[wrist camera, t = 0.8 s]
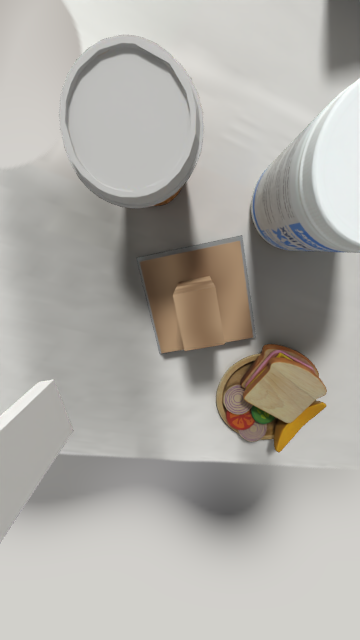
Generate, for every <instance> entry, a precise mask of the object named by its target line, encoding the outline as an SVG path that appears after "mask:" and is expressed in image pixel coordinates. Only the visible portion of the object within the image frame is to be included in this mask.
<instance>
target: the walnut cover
mask: <svg viewBox="0 0 360 640" xmlns="http://www.w3.org/2000/svg"><path fill="white" fill-rule="evenodd" d="M140 266H141V270H142V274H143V278H144V282H145V287H146V291H147V295H148V299H149V303H150V307H151V312H152V316H153V320H154V324H155V328H156V332H157V337H158V341H159V345H160V349H161V353H166V352H172V351H178V350H185V351H188V350H194V349H200V348H206V347H212V346H218V345H224V344H225V342H231V341H237V340H242V339H248V338H253V331H252V324H251V317H250V310H249V302H248V295H247V288H246V281H245V273H244V266H243V259H242V251H241V244H240V241H236V242H231V243H226V244H221V245H217V246H212V247H207V248H202V249H198V250H193V251H188V252H183V253H179V254H174V255H169V256H164V257H160V258H155V259H150V260H145V261H141V262H140Z"/></svg>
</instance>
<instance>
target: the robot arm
mask: <svg viewBox="0 0 360 640" xmlns="http://www.w3.org/2000/svg"><path fill="white" fill-rule="evenodd" d="M73 431H74V430H73V428H72V425H71V423H70V420H69V417H68V415H67V412H66V409H65V407H64V404H63V401H62V399H61V396H60V393H59V391H58V388H57V385H56V383H55V380H48V381H42V382H38V383H37V384H36V385H35V386H34V387H32V388H31V389H30V390H29V391H28V392H27V393H26V394H24V395H23V396H22V397H21V398H20V399H19V400H18V401H16V402H15V403H14V404H13V405H12V406H11V407H10V408H8V409H7V410H6V411H5V412H4V413H3V414H2V415H0V543H1V541H2V540H3V538H4V537H5V535H6V534H7V532H8V530H9V529H10V527H11V526H12V524H13V523H14V521H15V520H16V518H17V517H18V515H19V514H20V512H21V510H22V509H23V507H24V506H25V504H26V503H27V501H28V500H29V498H30V497H31V495H32V494H33V492H34V491H35V489H36V488H37V486H38V484H39V483H40V481H41V480H42V478H43V477H44V475H45V474H46V472H47V470H48V469H49V467H50V466H51V465H52V463H53V461H54V460H55V458H56V457H57V455H58V454H59V452H60V451H61V449H62V448H63V446H64V445H65V443H66V442H67V440H68V438H69V437H70V435H71V434H72V432H73Z"/></svg>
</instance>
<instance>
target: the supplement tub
mask: <svg viewBox="0 0 360 640" xmlns="http://www.w3.org/2000/svg"><path fill="white" fill-rule="evenodd" d="M251 214H252V219H253V222H254V225H255V227H256V229H257V231H258V233H259V234H260V236H261V237H262V238H263V239H264V240H265V241H267V242H268V243H269V244H271V245H272V246H274V247H277V248H280V249H283V250H290V251H322V252H353V253H360V78H359V79H358V80H357V81H356V82H354V83H353V84H352V85H350V86H349V87H348V88H346V89H345V90H344V91H342V92H341V93H340V94H339V95H338V96H337V97H336V98H335V99H334V100H333V101H332V102H331V103H329V105H328V106H327V107H326V108H325V109H324V110H323V111H322V112H321V113H320V114H318V115H317V117H316V118H315V119H314V120H313V121H312V122H311V123H310V124H309V125H308V126H307V127H306V128H305V129H304V130H303V131H302V132H301V133H300V134H299V135H298V136H297V137H296V138H295V139H294V141H293V142H292V143H291V144H290V145H289V146H288V147H287V148H286V149H285V150H284V151H283V152H282V153H281V154H280V155H279V156H278V157H277V158H276V159H275V160H274V161H273V162H272V163H271V164H270V165H269V166H268V167H267V169H266V170H265V171H264V172H263V173H262V175H261V176H260V178H259V180H258V181H257V184H256V186H255V188H254V191H253V195H252V201H251Z"/></svg>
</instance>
